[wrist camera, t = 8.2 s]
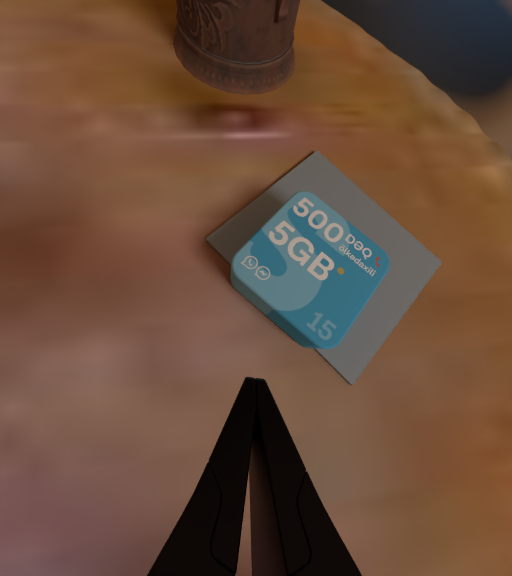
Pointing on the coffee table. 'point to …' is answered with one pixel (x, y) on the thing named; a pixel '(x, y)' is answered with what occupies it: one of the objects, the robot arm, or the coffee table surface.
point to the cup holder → (237, 42)
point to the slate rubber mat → (372, 223)
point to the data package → (309, 271)
